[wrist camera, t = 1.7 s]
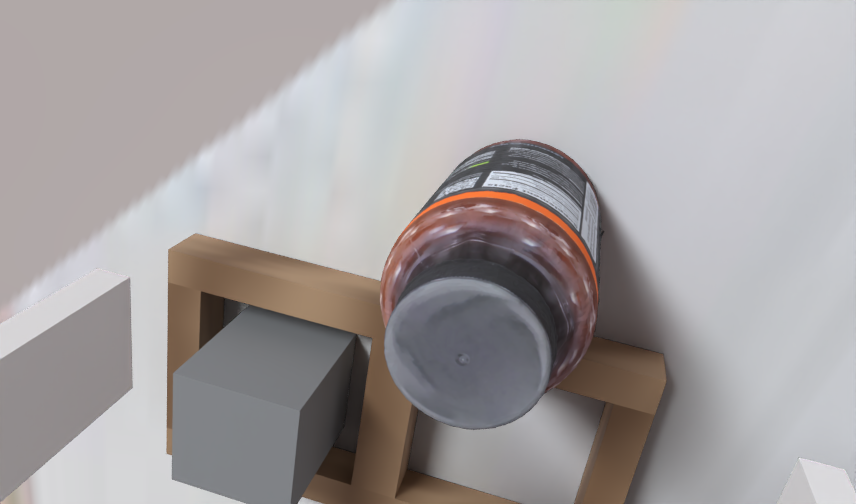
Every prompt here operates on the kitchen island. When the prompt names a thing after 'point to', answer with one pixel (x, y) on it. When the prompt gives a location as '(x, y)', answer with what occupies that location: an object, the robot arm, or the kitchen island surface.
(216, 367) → the block
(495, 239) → the supplement bottle
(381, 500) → the brown wooden frame
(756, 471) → the kitchen island surface
